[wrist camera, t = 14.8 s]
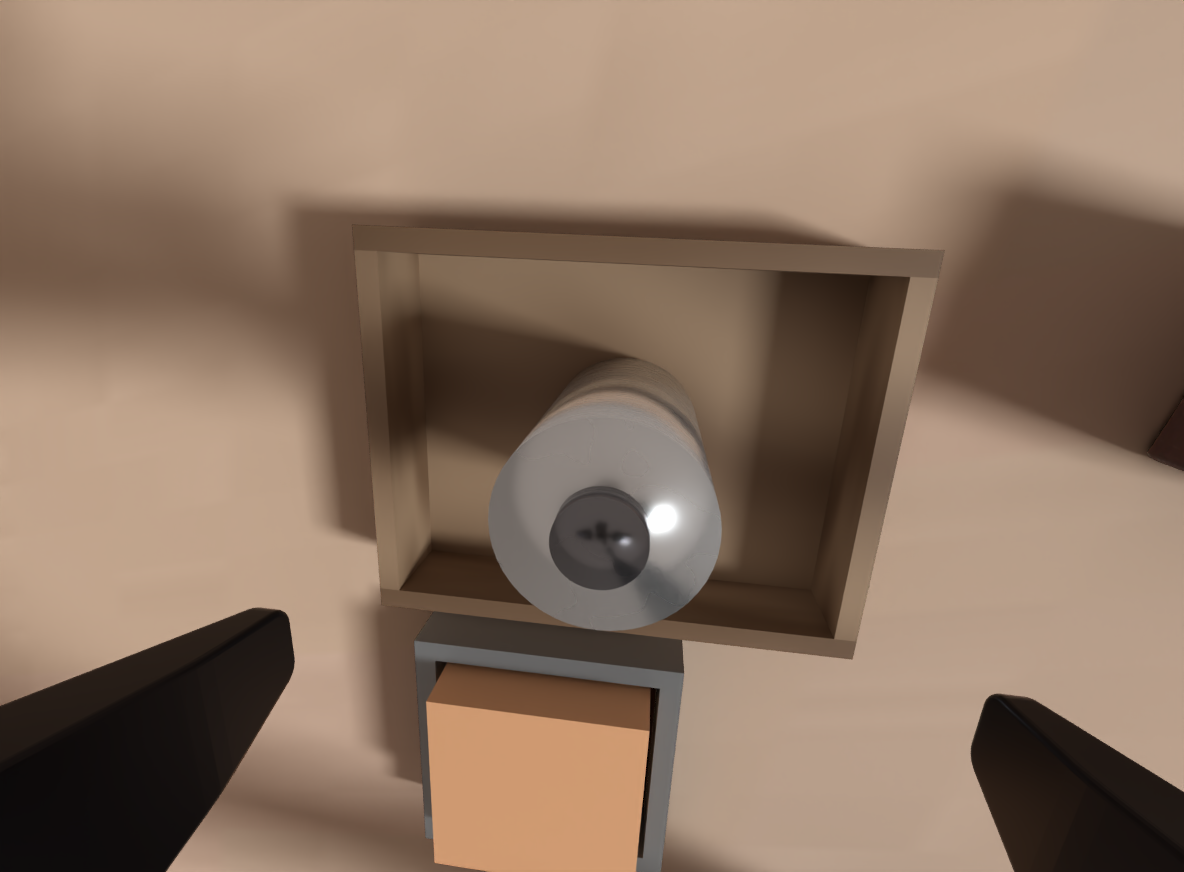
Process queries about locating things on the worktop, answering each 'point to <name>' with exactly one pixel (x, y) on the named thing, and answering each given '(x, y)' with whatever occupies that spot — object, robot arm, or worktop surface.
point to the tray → (688, 352)
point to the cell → (609, 501)
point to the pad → (536, 770)
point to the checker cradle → (565, 657)
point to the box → (1171, 441)
